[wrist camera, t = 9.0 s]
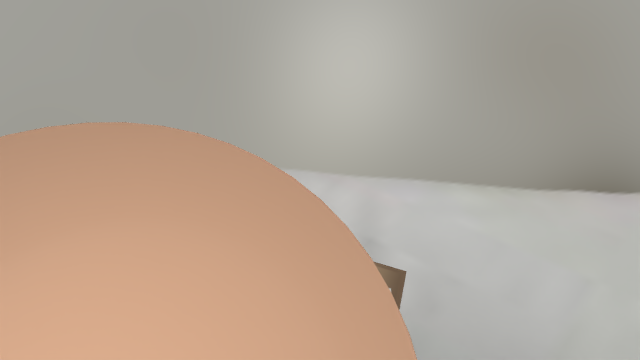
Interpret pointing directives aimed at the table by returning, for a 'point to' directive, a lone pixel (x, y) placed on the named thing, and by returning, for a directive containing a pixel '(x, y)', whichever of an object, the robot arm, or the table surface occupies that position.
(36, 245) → the terracotta canister
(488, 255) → the table surface
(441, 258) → the table surface
